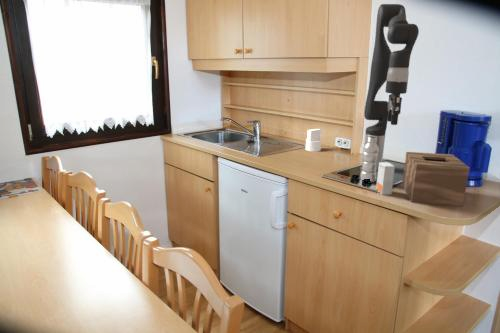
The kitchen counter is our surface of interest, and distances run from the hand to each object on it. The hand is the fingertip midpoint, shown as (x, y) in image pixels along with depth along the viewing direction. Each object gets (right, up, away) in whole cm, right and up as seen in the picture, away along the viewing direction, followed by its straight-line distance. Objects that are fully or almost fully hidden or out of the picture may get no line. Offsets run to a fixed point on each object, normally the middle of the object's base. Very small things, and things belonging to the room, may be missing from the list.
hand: (392, 123), depth 147 cm
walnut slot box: (+17, -28, +5) cm, 34 cm away
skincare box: (-1, -28, +8) cm, 29 cm away
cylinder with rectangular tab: (-18, -7, +79) cm, 81 cm away
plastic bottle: (-3, -24, +21) cm, 32 cm away
